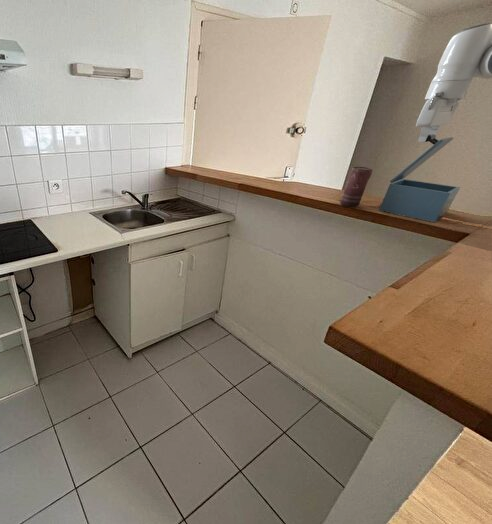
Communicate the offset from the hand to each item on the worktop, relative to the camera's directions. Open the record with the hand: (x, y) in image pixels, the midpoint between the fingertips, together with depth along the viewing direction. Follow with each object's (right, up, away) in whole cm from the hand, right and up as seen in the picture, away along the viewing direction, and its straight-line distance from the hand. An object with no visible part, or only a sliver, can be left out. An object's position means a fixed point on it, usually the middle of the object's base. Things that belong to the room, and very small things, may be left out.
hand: (424, 141), depth 93 cm
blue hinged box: (+3, -23, +8) cm, 24 cm away
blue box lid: (+1, -6, +2) cm, 6 cm away
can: (-13, -18, +16) cm, 28 cm away
